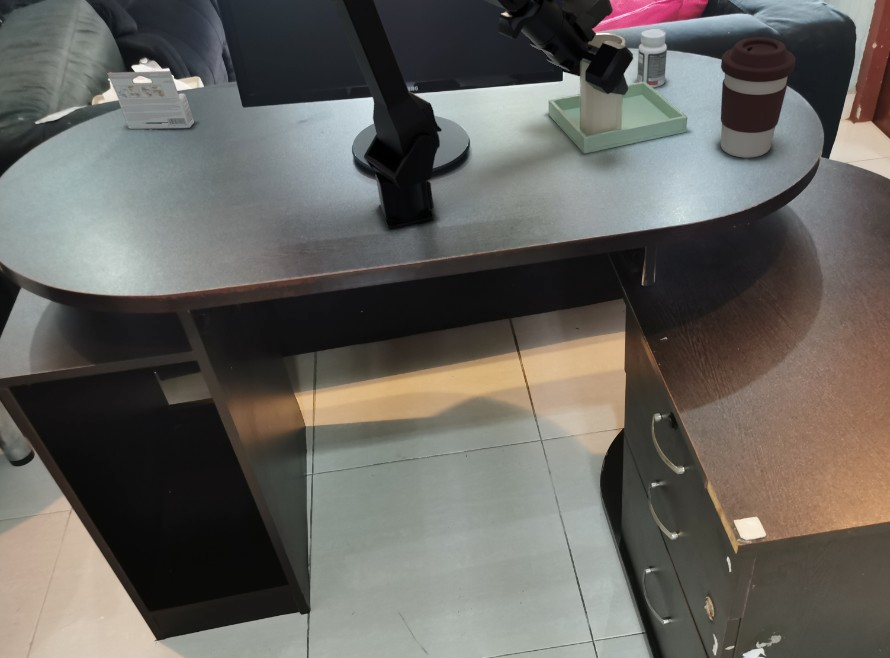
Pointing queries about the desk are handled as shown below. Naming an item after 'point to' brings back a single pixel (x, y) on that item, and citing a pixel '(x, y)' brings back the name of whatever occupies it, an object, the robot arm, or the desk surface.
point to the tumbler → (599, 98)
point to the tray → (640, 119)
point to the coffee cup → (753, 94)
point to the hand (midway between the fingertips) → (605, 82)
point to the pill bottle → (652, 57)
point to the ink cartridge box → (151, 100)
